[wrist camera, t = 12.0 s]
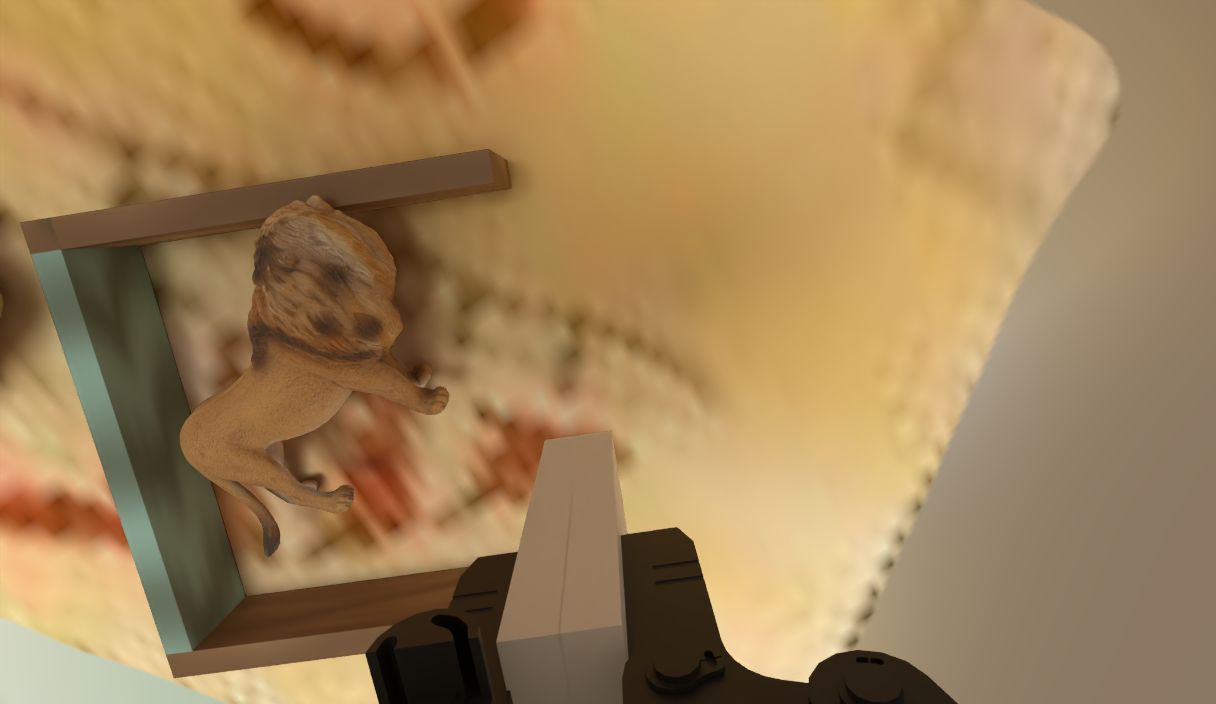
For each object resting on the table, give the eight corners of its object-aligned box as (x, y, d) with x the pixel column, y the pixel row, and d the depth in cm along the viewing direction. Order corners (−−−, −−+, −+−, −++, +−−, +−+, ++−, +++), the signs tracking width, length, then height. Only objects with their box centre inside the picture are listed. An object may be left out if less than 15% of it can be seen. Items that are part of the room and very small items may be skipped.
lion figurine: (473, 293, 29) (298, 164, 24) (508, 338, 25) (304, 194, 19) (279, 524, 30) (65, 450, 24) (281, 606, 25) (22, 539, 20)
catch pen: (105, 222, 27) (19, 222, 23) (506, 160, 26) (488, 148, 22) (229, 620, 31) (174, 678, 27) (579, 574, 30) (574, 626, 26)
